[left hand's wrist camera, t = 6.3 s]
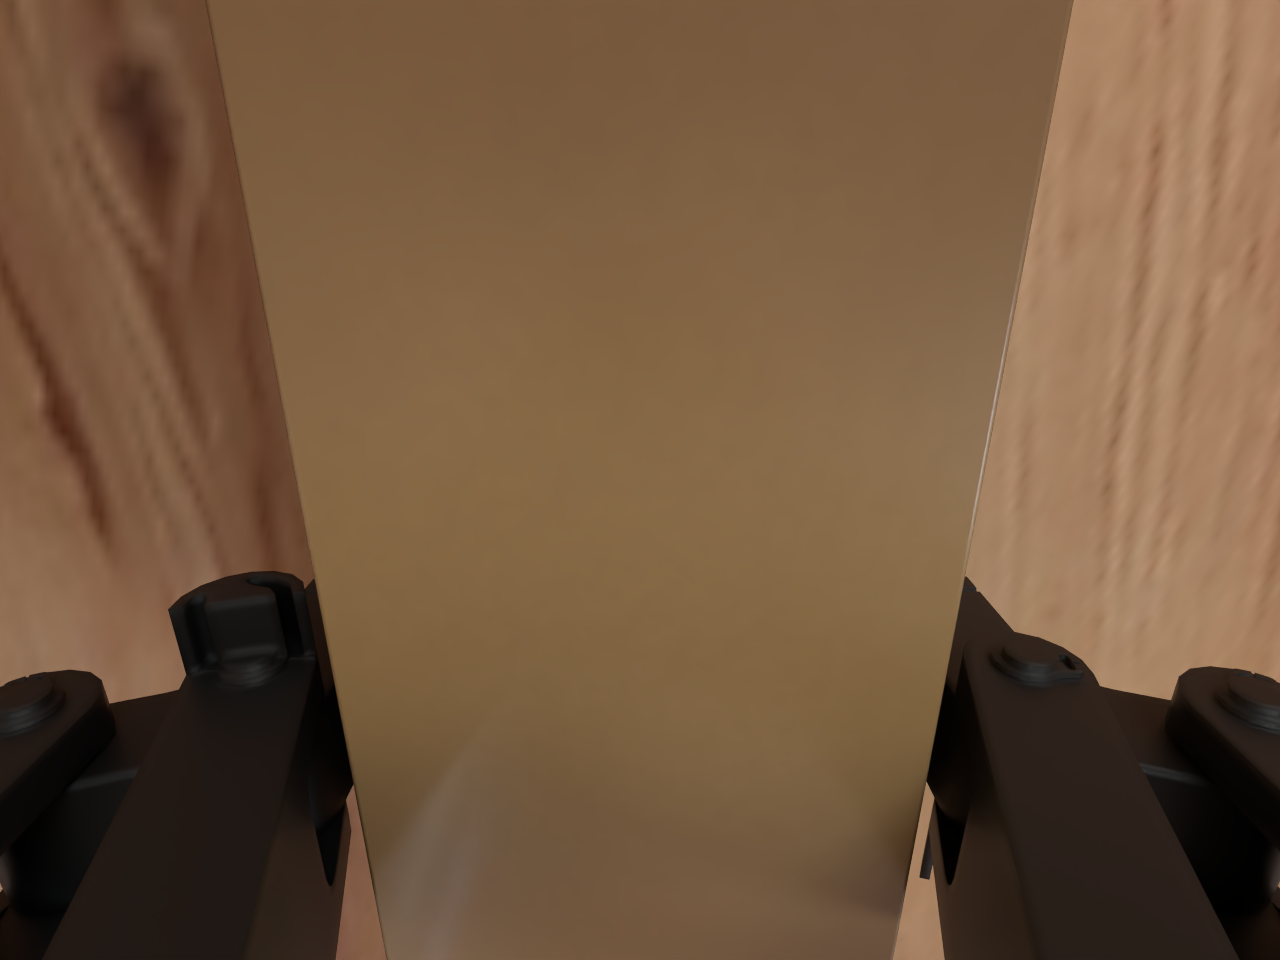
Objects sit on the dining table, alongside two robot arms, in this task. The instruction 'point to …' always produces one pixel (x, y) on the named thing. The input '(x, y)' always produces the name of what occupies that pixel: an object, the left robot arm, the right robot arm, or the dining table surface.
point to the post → (639, 437)
